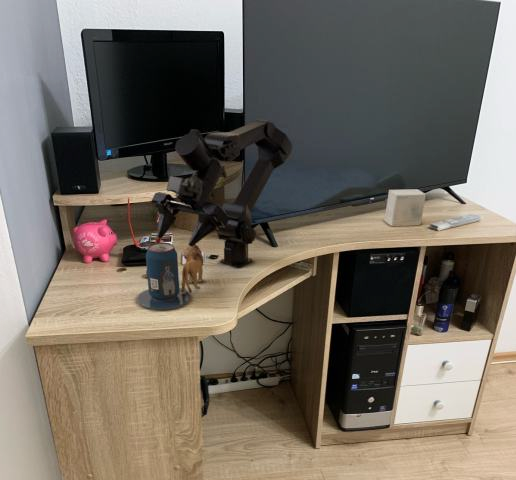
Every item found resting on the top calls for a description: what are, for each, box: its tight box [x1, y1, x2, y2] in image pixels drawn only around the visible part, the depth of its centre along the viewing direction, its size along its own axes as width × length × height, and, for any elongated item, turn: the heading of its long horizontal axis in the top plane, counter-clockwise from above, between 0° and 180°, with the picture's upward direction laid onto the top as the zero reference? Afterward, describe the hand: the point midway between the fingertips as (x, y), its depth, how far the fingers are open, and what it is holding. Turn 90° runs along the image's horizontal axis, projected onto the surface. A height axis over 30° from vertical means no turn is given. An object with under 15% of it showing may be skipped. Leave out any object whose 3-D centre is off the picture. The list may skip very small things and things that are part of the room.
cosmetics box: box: [383, 188, 427, 227], centre depth 177 cm, size 10×6×10 cm, turn 101°
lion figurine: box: [180, 243, 205, 294], centre depth 129 cm, size 15×5×9 cm, turn 4°
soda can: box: [145, 242, 180, 302], centre depth 122 cm, size 7×7×12 cm
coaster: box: [137, 287, 191, 312], centre depth 125 cm, size 12×12×1 cm
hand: (174, 241), depth 122 cm, fingers open, 9 cm apart
